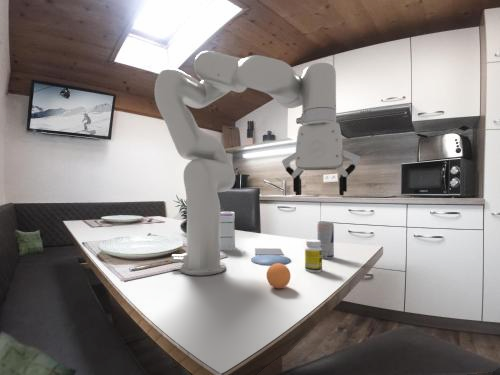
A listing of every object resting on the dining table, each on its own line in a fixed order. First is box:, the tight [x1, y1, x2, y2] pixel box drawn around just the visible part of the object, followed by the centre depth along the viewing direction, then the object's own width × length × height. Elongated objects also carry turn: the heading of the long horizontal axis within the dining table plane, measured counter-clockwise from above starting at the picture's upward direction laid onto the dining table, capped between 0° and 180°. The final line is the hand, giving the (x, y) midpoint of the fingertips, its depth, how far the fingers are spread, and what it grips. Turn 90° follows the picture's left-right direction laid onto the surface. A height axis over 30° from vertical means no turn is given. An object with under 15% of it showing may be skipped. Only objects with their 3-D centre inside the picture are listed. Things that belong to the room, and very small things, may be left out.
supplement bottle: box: [304, 239, 323, 273], centre depth 74 cm, size 5×5×8 cm
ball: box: [266, 263, 291, 289], centre depth 60 cm, size 6×6×6 cm
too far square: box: [254, 247, 284, 256], centre depth 97 cm, size 10×10×1 cm
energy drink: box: [316, 220, 335, 260], centre depth 89 cm, size 5×5×12 cm
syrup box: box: [220, 211, 236, 251], centre depth 102 cm, size 6×6×14 cm
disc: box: [250, 255, 292, 266], centre depth 85 cm, size 13×13×1 cm
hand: (319, 195), depth 59 cm, fingers open, 9 cm apart
